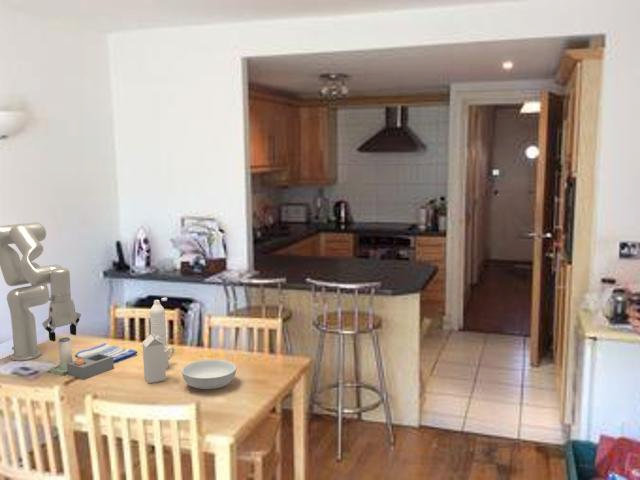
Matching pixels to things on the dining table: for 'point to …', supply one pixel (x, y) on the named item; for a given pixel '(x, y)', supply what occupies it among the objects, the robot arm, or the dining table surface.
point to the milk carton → (154, 359)
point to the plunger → (79, 362)
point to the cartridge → (64, 352)
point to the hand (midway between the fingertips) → (63, 337)
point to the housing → (91, 366)
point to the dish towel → (108, 352)
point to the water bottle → (158, 320)
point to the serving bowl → (209, 373)
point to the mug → (168, 355)
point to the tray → (58, 370)
